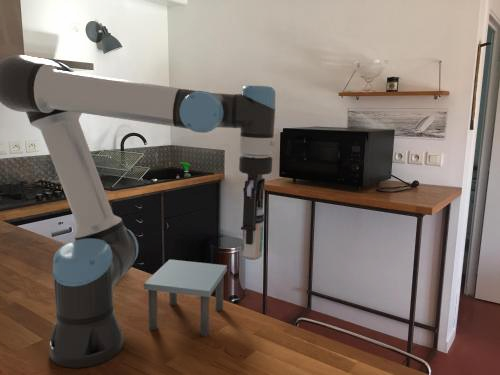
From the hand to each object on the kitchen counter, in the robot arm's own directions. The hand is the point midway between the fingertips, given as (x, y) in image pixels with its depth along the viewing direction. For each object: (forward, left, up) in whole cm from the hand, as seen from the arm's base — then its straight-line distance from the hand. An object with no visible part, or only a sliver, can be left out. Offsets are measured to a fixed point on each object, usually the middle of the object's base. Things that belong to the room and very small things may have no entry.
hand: (251, 252), depth 102 cm
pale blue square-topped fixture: (0, +16, -19) cm, 25 cm away
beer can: (0, 0, -1) cm, 1 cm away
